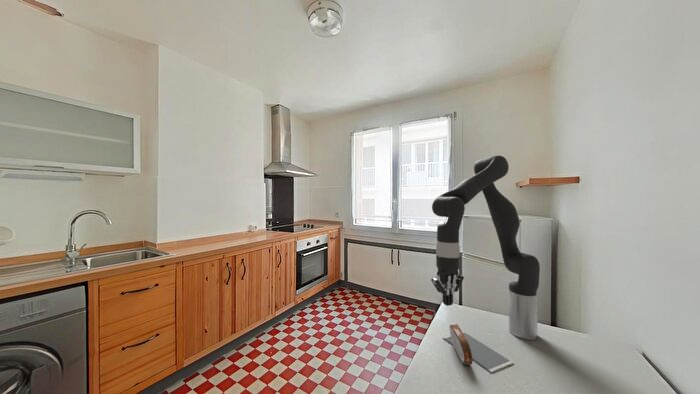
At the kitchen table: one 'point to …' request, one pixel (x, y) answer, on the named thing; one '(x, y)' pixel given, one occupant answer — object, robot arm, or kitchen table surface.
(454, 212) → the robot arm
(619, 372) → the kitchen table surface
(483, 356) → the mat
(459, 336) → the tin
